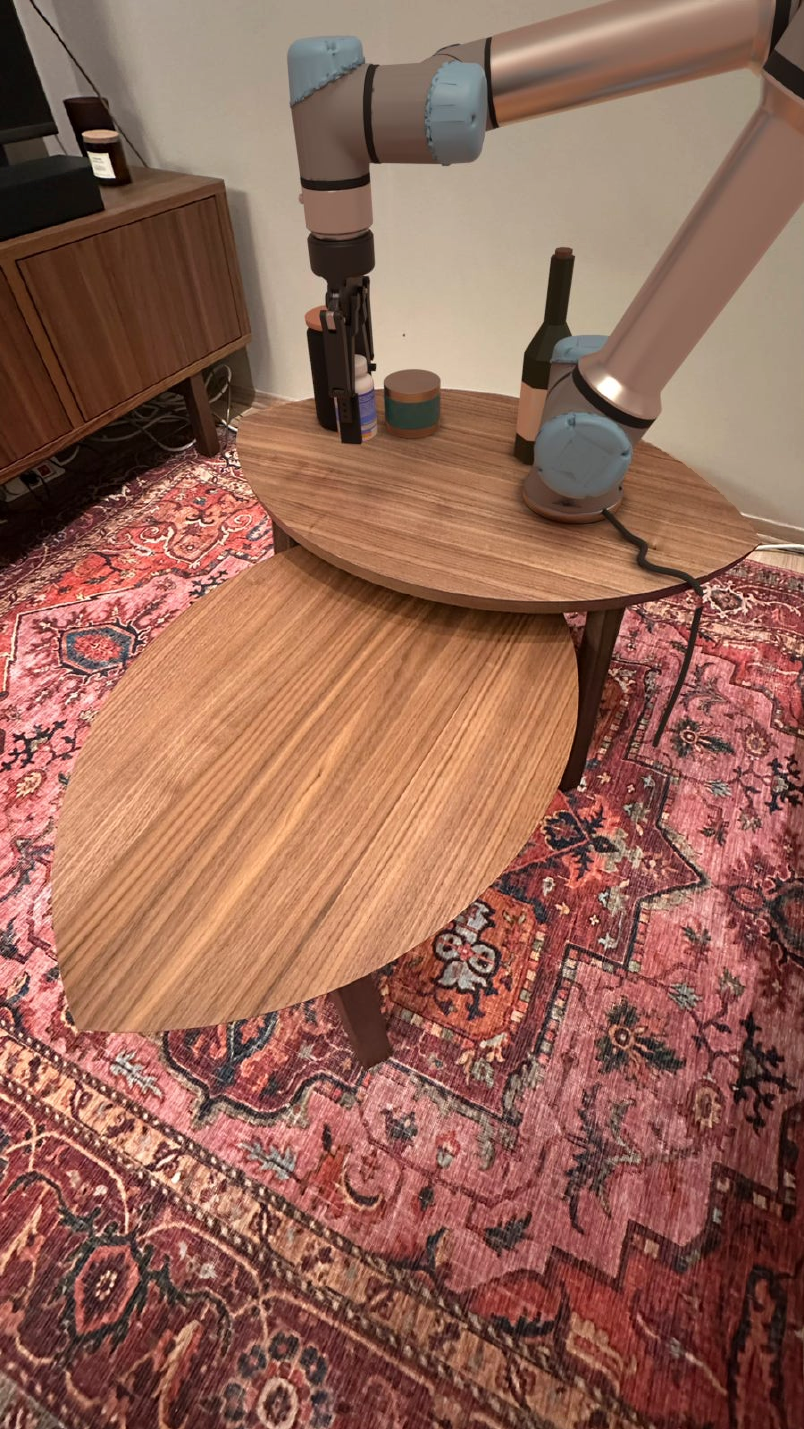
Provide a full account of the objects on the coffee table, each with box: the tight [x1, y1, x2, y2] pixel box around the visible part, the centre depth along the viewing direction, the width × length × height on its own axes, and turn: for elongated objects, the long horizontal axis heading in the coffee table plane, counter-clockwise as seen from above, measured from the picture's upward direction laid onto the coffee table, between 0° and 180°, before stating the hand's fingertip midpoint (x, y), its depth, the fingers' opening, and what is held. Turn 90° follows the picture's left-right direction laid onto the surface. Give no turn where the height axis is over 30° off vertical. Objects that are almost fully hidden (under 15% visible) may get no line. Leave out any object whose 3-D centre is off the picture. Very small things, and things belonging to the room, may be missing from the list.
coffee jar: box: [304, 304, 373, 433], centre depth 121 cm, size 11×11×18 cm
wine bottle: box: [513, 246, 576, 466], centre depth 106 cm, size 8×8×30 cm
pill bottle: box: [334, 354, 378, 443], centre depth 90 cm, size 5×5×10 cm
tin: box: [383, 368, 442, 440], centre depth 123 cm, size 10×10×8 cm
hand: (357, 431), depth 94 cm, fingers closed on pill bottle, 5 cm apart
